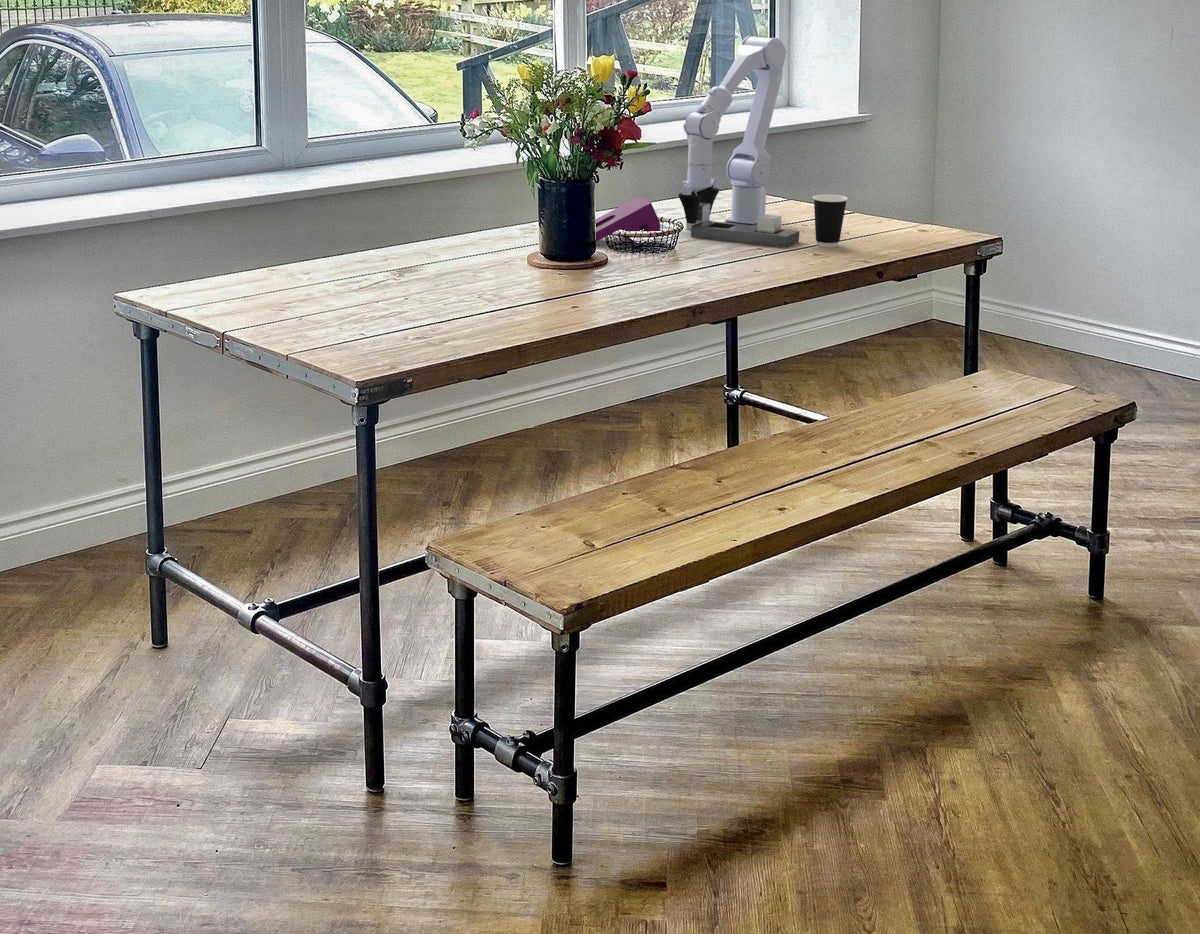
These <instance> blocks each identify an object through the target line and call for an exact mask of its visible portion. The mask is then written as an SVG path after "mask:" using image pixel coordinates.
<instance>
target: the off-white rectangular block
mask: <svg viewBox="0 0 1200 934" xmlns="http://www.w3.org/2000/svg"><path fill="white" fill-rule="evenodd" d="M756 226H757V232H760V233H769V234H777V233H779V232H781V229H782V215H776V214H775V215H774V214H766V213H765V214H764V215H762V216H759V217H758V220H757V223H756Z"/></svg>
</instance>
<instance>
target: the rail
mask: <svg viewBox="0 0 1200 934" xmlns="http://www.w3.org/2000/svg"><path fill="white" fill-rule="evenodd" d="M690 236H691V237H690V238H697V239H707V240H716V241H723V242H731V243H733V242H734V243H741V244H748V243H750V244H749V245H756V244H758V245H759V246H765V245H768V246H767V247H774V246H779V247H778V248H782V247H787V248H788V246H789V245H791V246H793V245H795V244H797V243H799V242H800V230H798V229H797V230H796V229H785V228H781V232H779V233H777V234H769V233H760V232H757V225H753V224H744V223H735V222H726V221H725V222H724V221H716V220H715V221H713V220H710V221H707V220H706V221H703V222H700V223H698V224H695V225H692V226H691V230H690ZM798 241H799V242H798ZM796 242H797V243H796ZM794 243H795V244H794ZM792 244H793V245H792ZM789 247H790V246H789Z"/></svg>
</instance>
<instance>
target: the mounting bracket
mask: <svg viewBox="0 0 1200 934" xmlns="http://www.w3.org/2000/svg"><path fill="white" fill-rule="evenodd" d="M594 220H595V224H596V242H598V241H601V240H602V239H605V238H607V237H608V236H610V235H612V234H613V233H616V232H617V231H620V229H622V230H625V231H640V230H643V229H644V230H643V231H660V232H661V222H660V219H659V217H658V215H657V213H656V210H655V208H654V206H653V204H652V202H651V201H649V200H648V199H646V198H644V197H643V196H642V195H638V196H637V197H635V198H633V199H632V200H630V201H628V202H625V203H623V204H622V205H620V206H618V207H616V208H615V209H612V210H611V211H609V212H607V213H605V214H603V215H602V216H599V217H597V218H595V219H594Z"/></svg>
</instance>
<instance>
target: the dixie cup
mask: <svg viewBox="0 0 1200 934" xmlns="http://www.w3.org/2000/svg"><path fill="white" fill-rule="evenodd" d="M812 199H813V205H814V206H813V207H814V228H815V229H814V230H815V241H816V246H818V245H819V246H818V247H821V246H824V247H823V248H835V246H836V247H838V246H839V242H840V241H841V239H840V238H841V233H842V230H843V229H842V228H843V224H844V223H843V222H844V216H845V213H846V212H845V211H846V206H847V201H848V199H849V198H848V197H847V196H844V195H842V194H841V195H839V194H816V195H813V196H812Z"/></svg>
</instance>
